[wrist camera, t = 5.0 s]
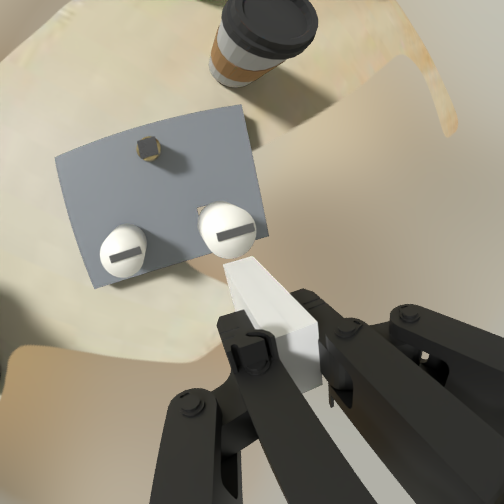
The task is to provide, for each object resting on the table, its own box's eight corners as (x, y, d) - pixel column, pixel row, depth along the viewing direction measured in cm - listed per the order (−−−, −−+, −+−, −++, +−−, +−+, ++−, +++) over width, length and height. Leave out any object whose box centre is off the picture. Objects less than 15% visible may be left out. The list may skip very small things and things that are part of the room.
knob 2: (200, 243, 30) (212, 266, 23) (189, 204, 29) (198, 215, 22) (238, 232, 31) (261, 250, 24) (229, 194, 30) (251, 200, 23)
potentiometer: (141, 164, 27) (138, 162, 24) (137, 143, 26) (133, 139, 23) (163, 158, 28) (162, 155, 24) (158, 137, 27) (157, 132, 23)
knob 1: (119, 259, 31) (108, 283, 24) (108, 225, 30) (93, 241, 23) (152, 249, 32) (150, 271, 25) (142, 214, 31) (135, 226, 24)
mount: (99, 279, 32) (94, 289, 29) (63, 158, 26) (54, 157, 24) (260, 231, 37) (268, 236, 34) (234, 109, 31) (241, 104, 28)
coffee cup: (232, 30, 28) (273, -33, 14) (276, 70, 31) (339, 25, 17) (186, 67, 28) (205, 3, 14) (234, 108, 31) (283, 68, 17)
